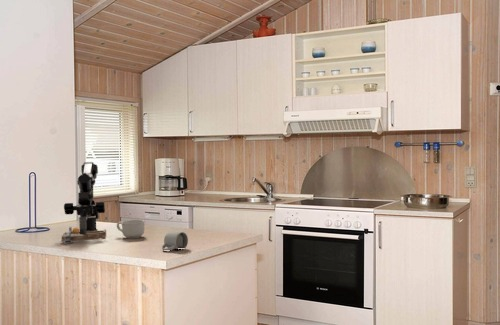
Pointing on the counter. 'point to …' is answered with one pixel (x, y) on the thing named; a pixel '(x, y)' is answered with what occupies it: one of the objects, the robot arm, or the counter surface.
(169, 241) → the ceramic mug
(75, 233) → the ball
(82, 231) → the lever
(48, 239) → the counter surface
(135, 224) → the teacup
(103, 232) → the lane
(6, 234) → the counter surface
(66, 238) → the pivot post
